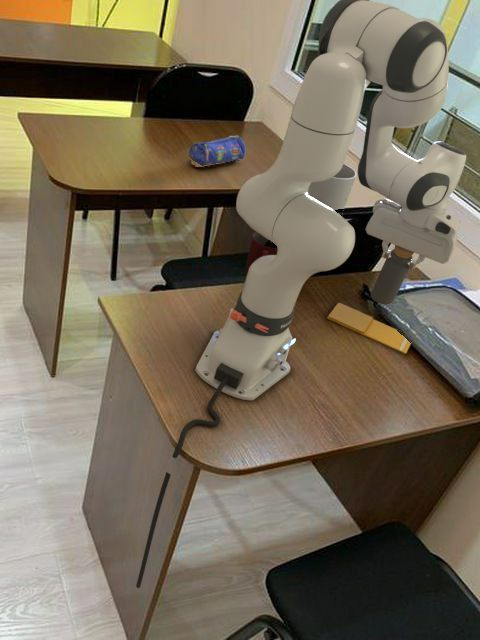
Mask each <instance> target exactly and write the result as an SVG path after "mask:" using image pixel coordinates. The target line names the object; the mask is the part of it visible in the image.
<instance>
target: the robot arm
mask: <svg viewBox="0 0 480 640" xmlns="http://www.w3.org/2000/svg"><path fill="white" fill-rule="evenodd" d="M317 55H318V56H317V57H315V59H313V60H312V61H311V63H310V64H309V67H308V69H307V71H306V73H305V75H304V77H303V80H302V82H301V84H300V87H299V90H298V92H297V95H296V98H295V100H294V103H293V107H292V109H291V113H290V116H289V117H290V118H289V121H288V125H287V128H286V131H285V135H284V139H283V141H282V145H281V148H280V151H279V152H278V155H277V157H276V158H275V160H274V162H273V164H272V165H271V166H270V167H269V168H268V169H267V170H266V171H264V172H262V173H259V174H258V173H257V174H255V175H254V176H252V177H250V178H249V179H247V180H246V181H245V182H244V183H243V185H242V186H241V188H239V191H238V193H237V196H236V201H235V202H236V203H235V204H236V205H235V208H236V212H237V214H238V215H239V216H240V218H241V219H242V220H243V221H244V222H245V223H246V224H247V225H248V226H249V227H250V228H251V229H252V230H253V231H254V232H258V233H259V234H261V235H262V236H264V237H265V238H267V239H268V240H270V241H271V242H273V243H274V244H275V245H276V246H277V249H278V251H277V255H267V256H263V257H260V258H258V259H257V260H256V261H254V262H253V263H252V265H251V266H250V267H249V270H248V274H247V275H246V276H245V277H246V278H245V281H244V284H243V288H242V291H240V293H239V295H238V297H237V299H236V302H235V303H234V307H232V308H230V311H229V315H228V317H227V319H226V320H225V323H224V324H223V326H222V327H221V328H219V329H218V330H215V331H214V332H213V334H212V336H211V338H210V340H209V342H208V343H207V345H206V347H205V349H204V351H203V352H202V355H201V357H200V358H199V361H198V362H197V364H196V366H195V369H194V371H195V373H196V375H198V376H199V378H201V380H203V381H204V382H205V383H207V384H208V385H210V386H211V387H213V388H214V389H216V390H215V391H214V393H213V395H212V396H211V398H210V399H209V401H208V404H207V410H208V413H209V414H210V416H212V418H213V419H214V420H206V419H201V418H200V419H199V418H197V419H193V420H191V421H189V422H188V423H186V425H184V426H183V428H182V430H181V432H180V435H179V439H178V441H177V444H176V447H175V449H174V451H173V452H172V458H173V459H177V458H178V457H179V455H180V452H181V450H182V449H183V445H184V443H185V439H186V437H187V433H188V432H189V430H190V429H191V428H192V427H194V426H196V425H201V426H208V427H216V426H218V425H219V424H220V422H221V419H220V415H218V414H217V413H216V411H215V410H214V408H213V406H214V403H215V402H216V401H217V399H218V397H219V396H220V394H221V393H224V394H226V395H228V396H230V397H232V398H233V397H234V398H235V399H239V400H243V401H254V400H256V399H257V398H258V397H260V396H261V395H263V393H265V392H266V391H268V390H269V389H270V388H271V387H273V386H274V385H275V384H277V383H278V382H279V381H280V380H282V379H283V378H285V377H286V376H287V375H288V374H289V373H290V372H291V365H290V364H289V362H288V361H287V358H288V355H289V351H290V348H291V346H292V345H293V344H295V342H296V340H297V339H296V338H293V336H292V334H291V330H290V325H291V323H292V321H293V319H294V313H295V306H296V303H297V301H298V297H299V295H300V292H301V290H302V288H303V287H304V285H305V283H306V281H308V279H309V278H310V277H312V276H313V275H315V274H317V273H320V272H328V271H331V270H335V269H337V268H338V267H340V266H341V265H343V264H344V263H345V262H346V261H347V260H348V259H349V258H350V256H351V254H352V252H353V250H354V248H355V243H356V232H355V231H356V230H355V228H354V227H353V226H352V225H351V224H350V223H349V222H348V220H346V218H345V217H343V215H342V216H341V215H340V214H339V213H337V212H336V211H335V210H333V209H331V208H330V207H328V206H326V205H324V204H323V203H321V202H319V201H318V200H316V199H314V198H313V197H311V196H310V195H309V194H308V189H309V186H310V184H311V182H320V181H325V180H328V179H330V178H332V177H334V176H335V175H336V174H337V173H338V172H339V171H340V170H341V168H342V167H343V164H345V161H346V157H347V154H348V152H349V148H350V145H351V142H352V139H353V137H354V134H355V131H356V128H357V124H358V121H359V119H360V114H361V110H362V107H363V101H364V96H365V91H366V89H367V87H369V85H370V84H371V82H372V83H375V84H377V85H381V86H382V89H381V90H380V91H379V92H377V93H376V95H374V97H373V99H372V101H371V103H370V105H369V110H368V114H367V120H366V127H365V134H364V140H363V141H364V142H363V149H362V154H361V156H360V160H359V162H358V164H357V177H358V181H359V184H360V185H361V186H363V187H365V188H367V189H369V190H371V191H374V192H375V193H377V194H380V195H382V196H383V197H385V198H383V199H378V200H376V201H375V203H374V205H373V207H372V213H373V214H372V216H370V219H369V221H368V222H367V225H366V227H365V233H366V234H367V235H369V236H371V237H374V238H377V239H379V240H381V241H382V243H381V246H382V251H383V252H382V254H381V258H383V259H385V260H386V259H388V257H390V256H391V255H390V253H391V251H392V250H390V249H389V244H391V245H394V246H395V245H396V246H399V247H401V248H404V249H406V250H409V251H411V252H414V253H413V254H417V255H418V258H417V259H416V260H415V259H412V260H411V262H409V263H408V264H409V266H408V268H409V270H413V271H414V270H415V269H416V267H417V266H418V265H419V264H421V263H423V262H424V260H425V259H426V258H427V259H428V260H431V261H433V262H437V263H439V264H443V265H444V264H447V263H448V262H449V261H450V259H451V257H452V255H453V252H454V250H455V247H456V245H457V241H458V231H459V229H460V226H461V220H460V219H459V218H458V217H457V216H455V215H454V214H453V213H452V212H450V211H449V210H448V209H446V208H447V206H448V200H449V198H450V196H451V194H453V193H454V191H455V190H456V188H457V185H458V183H459V181H460V179H461V176H462V174H463V171H464V168H465V165H466V162H467V161H466V160H467V154H466V153H465V151H464V150H462V149H461V148H459V147H457V146H456V145H455V146H454V145H452V144H449V143H447V142H444V141H434V142H433V143H432V144H431V146H429V148H428V150H427V152H426V154H425V155H424V157H422V158H421V159H418V160H417V159H415V158H414V157H411V156H409V155H408V154H406V153H404V152H402V151H400V150H399V149H398V148H397V147H396V146H394V144H393V141H392V140H393V136H394V130H395V128H398V129H411V128H416V127H418V126H421V125H424V124H426V123H428V122H430V121H431V120H432V119H434V118H435V117H436V116H437V115H438V114H439V112H440V111H441V110H442V109H443V107H444V105H445V103H446V99H447V95H448V86H449V71H450V70H449V69H450V67H449V65H450V63H449V47H448V41H447V36H446V31H445V29H444V28H443V26H442V25H441V24H440V23H439V22H438V21H435V20H433V19H430V18H426V17H422V18H421V17H419V18H417V17H415V16H413V15H411V14H409V13H407V12H405V11H403V10H400V8H399V7H396V6H393V5H389V4H387V3H382V2H378V1H373V0H338V1H337V2H336V3H335V4H334V5H333V6H332V7H331V8H330V9H329V10H328V12H327V13H326V14H325V17H324V18H323V20H322V23H321V26H320V29H319V35H318V45H317ZM170 478H171V473H169V472H168V471H166V472H165V475H164V478H163V480H162V484H161V487H160V491H159V494H158V497H157V501H156V505H155V508H154V512H153V515H152V519H151V522H150V523H151V524H150V527H149V530H148V535H147V540H146V543H145V547H144V551H143V557H142V561H141V565H140V569H139V573H138V577H137V580H136V585H135V587H136V588H137V589H140V588H141V585H142V582H143V578H144V574H145V570H146V566H147V563H148V558H149V553H150V550H151V546H152V542H153V538H154V534H155V530H156V525H157V523H158V518H159V514H160V511H161V508H162V504H163V501H164V499H165V494H166V491H167V488H168V484H169V482H170V480H171V479H170Z"/></svg>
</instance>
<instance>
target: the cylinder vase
mask: <svg viewBox="0 0 480 640" xmlns="http://www.w3.org/2000/svg"><path fill="white" fill-rule="evenodd" d="M357 176H358V172H357V171H356V170H355V169H354V168H352V166H350V165H348V164H346V163H344V164H343V167H342V168H341V170H340V171H339V172H338V173H337V174H336V175H335V176H334V177H332V178H330V179H328V180H325V181H320V182H311V184H310V186H309V189H308V194H309V195H310V196H311V197H313V198H314V199H316V200H318V201H319V202H321V203H323V204H324V205H326V206H328V207H330V208H331V209H333V210H338V209H344V210H345V208H346V205H347V202H348V199H349V197H350V194H351V192H352V188H353V187H354V184H355V181H356V179H357V178H356V177H357Z"/></svg>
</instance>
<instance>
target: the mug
mask: <svg viewBox="0 0 480 640" xmlns="http://www.w3.org/2000/svg"><path fill="white" fill-rule="evenodd" d="M267 241H268V239H267V238H265V237H264V236H262V235H261V234H259V233H258V232H256V231H254V232H253V233H252V235H251V239H250V243H249V249H248V255H247V258H246V259H247V260H246V265H245V270H244V271H245V276H247V274H248V270H249V267H250V266H251V265H252V263H253V262H254V261H256V260H257V259H258V258H260V257H263V256H267V255H277V251H278V249H277V248H271V247H267V246H264V245H265V244H266V242H267Z"/></svg>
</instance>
